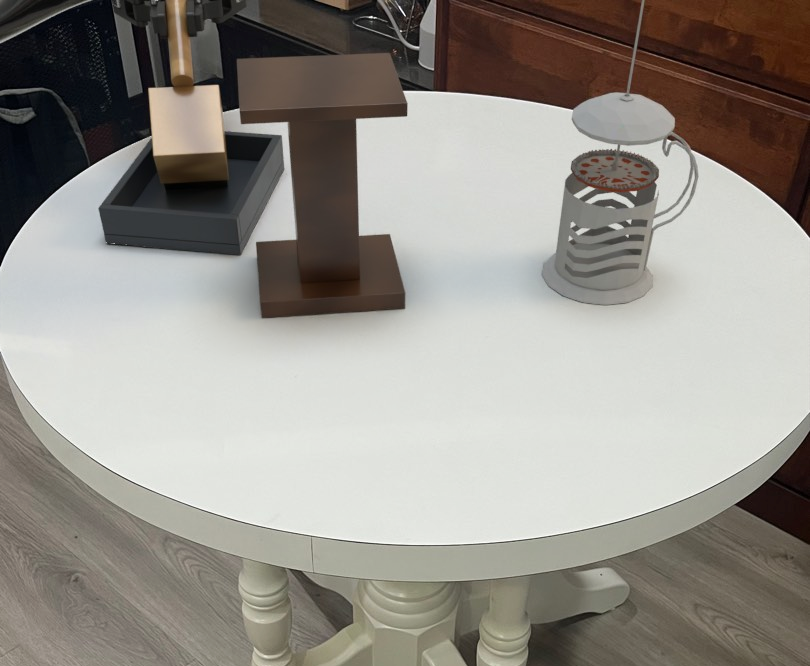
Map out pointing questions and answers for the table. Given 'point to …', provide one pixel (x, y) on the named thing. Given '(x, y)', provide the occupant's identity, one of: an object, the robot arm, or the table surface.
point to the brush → (187, 118)
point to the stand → (324, 181)
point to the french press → (620, 173)
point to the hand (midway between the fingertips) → (176, 26)
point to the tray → (195, 201)
